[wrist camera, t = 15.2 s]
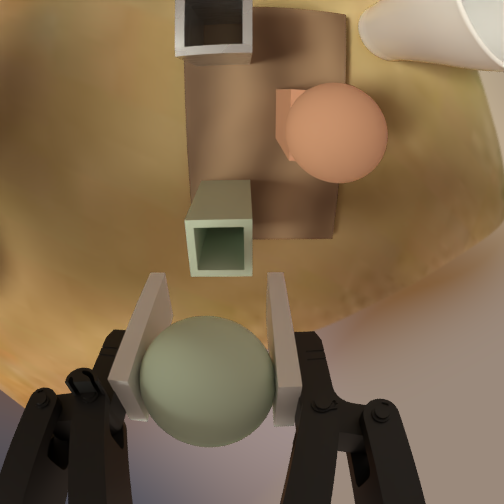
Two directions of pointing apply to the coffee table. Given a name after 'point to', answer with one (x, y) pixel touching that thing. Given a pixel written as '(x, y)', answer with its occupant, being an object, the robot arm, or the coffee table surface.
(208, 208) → the sage tube
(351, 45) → the coffee table surface
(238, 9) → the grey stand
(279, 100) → the terracotta tube
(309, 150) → the terracotta ball
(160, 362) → the sage ball
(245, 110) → the board
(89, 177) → the coffee table surface
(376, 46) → the drinking glass
